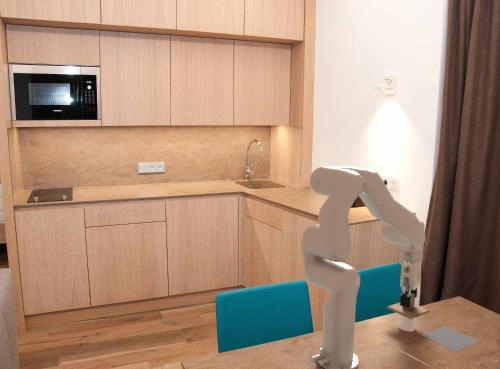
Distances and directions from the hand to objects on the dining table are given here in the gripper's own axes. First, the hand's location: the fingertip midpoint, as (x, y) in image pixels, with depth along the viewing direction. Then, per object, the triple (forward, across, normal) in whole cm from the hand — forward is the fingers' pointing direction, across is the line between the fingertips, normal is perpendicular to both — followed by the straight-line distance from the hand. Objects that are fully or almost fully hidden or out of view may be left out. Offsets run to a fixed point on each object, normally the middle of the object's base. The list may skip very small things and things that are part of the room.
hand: (408, 301), depth 161 cm
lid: (+3, 0, 0) cm, 3 cm away
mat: (+10, 0, -14) cm, 18 cm away
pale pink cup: (+10, 0, 0) cm, 10 cm away
